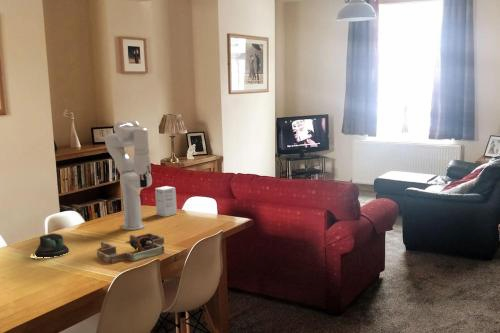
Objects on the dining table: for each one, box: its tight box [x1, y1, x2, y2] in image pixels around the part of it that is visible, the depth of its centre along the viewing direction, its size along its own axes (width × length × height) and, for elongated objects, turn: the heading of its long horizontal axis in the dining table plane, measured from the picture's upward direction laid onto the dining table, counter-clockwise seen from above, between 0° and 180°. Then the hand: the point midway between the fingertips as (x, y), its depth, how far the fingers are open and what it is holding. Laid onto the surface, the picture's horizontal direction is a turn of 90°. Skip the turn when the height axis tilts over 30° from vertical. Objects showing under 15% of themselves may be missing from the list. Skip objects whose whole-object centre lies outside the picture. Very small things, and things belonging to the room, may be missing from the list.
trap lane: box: [96, 232, 165, 264], centre depth 253 cm, size 30×35×3 cm
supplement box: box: [154, 185, 178, 218], centre depth 321 cm, size 10×9×17 cm
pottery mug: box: [129, 237, 155, 252], centre depth 250 cm, size 12×10×8 cm
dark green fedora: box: [34, 233, 70, 258], centre depth 251 cm, size 20×20×9 cm
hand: (143, 186), depth 270 cm, fingers closed
